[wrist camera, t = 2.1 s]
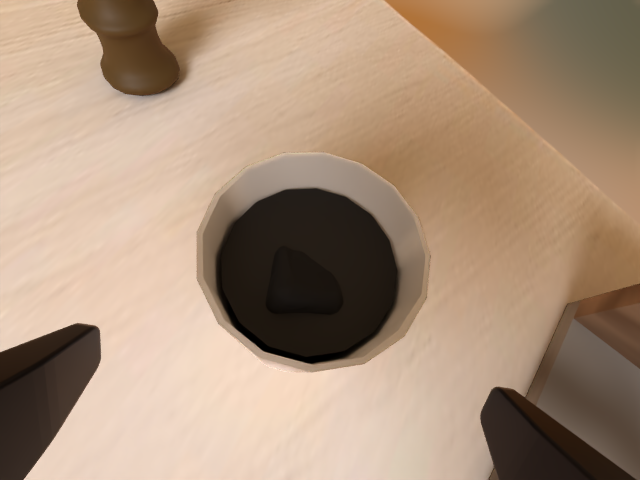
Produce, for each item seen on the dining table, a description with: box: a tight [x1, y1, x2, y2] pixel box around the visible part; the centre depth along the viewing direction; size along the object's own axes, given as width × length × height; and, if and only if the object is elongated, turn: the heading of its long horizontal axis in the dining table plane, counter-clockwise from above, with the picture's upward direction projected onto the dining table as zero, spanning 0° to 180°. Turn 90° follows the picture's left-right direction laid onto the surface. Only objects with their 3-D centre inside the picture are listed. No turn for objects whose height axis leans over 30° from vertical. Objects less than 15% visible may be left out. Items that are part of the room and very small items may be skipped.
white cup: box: [197, 152, 431, 372], centre depth 14 cm, size 7×7×10 cm
